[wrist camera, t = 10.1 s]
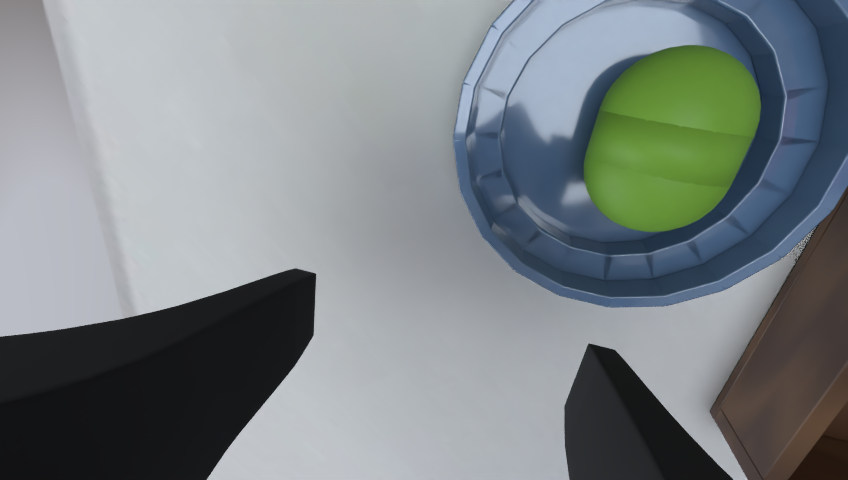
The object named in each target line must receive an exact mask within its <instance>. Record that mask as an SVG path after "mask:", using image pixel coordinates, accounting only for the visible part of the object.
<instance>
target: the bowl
mask: <svg viewBox="0 0 848 480" xmlns="http://www.w3.org/2000/svg"><path fill="white" fill-rule="evenodd" d="M683 45H699V46H707V47H713V48H716V49H718V50H721V51H723V52H726V53H728V54H730V55H732V56H733V57H734V58H736V59H737V60H738V61H740V62H741V63H743V65H744V66H745V67H746V68H747V70H748V71H749V72H750V73H751V75H752V76H753V78H754V80H755V82H756V85H757V87H758V89H759V95H760V101H761V111H760V121H759V124H758V127H757V130H756V133H755V136H754V138H753V140H752V142H751V144H750V146H749V148H748V151H747V153H746V155H745V157H744V159H743V161H742V163H741V166H740V168H739V170H738V172H737V174H736V176H735V178H734V180H733V183H732V185H731V186H730V188H729V190H728V191H727V193H726V195H725V196H724V198H723V199H722V200H721V201H720V202H719V203H718V204H717V205H716V206H715V208H714V209H713V210H712V211H710V212H709V213H708V214H706V215H705V216H703V217H702V218H701V219H699V220H697V221H695V222H693V223H691V224H689V225H687V226H684V227H681V228H677V229H673V230H670V231H660V232H644V231H638V230H633V229H629V228H626V227H624V226H622V225H619V224H617V223H615V222H613V221H611V220H610V219H609V218H608V217H606V216H605V215H604V214H603V213H601V212H600V211H599V209H598V208H597V207H596V206H595V204H594V203H593V202H592V200H591V198H590V196H589V194H588V192H587V189H586V185H585V181H584V160H585V155H586V151H587V148H588V144H589V141H590V138H591V135H592V131H593V128H594V125H595V122H596V118H597V115H598V112H599V109H600V106H601V104H602V101H603V99H604V97H605V95H606V93H607V92H608V90H609V89H610V87H611V86H612V84H613V83H614V82H615V81H616V79H617V78H618V77H619V76H620V75H621V74H622V73H623V72H624V71H625V70H626V69H628V68H629V67H630V66H632V65H633V64H634V63H635V62H637V61H639V60H641V59H642V58H644V57H646V56H648V55H650V54H652V53H654V52H657V51H660V50H663V49H666V48H670V47H676V46H683ZM453 139H454V140H453V145H454V152H455V160H456V167H457V175H458V182H459V189H460V193H461V195H462V197H463V199H464V201H465V203H466V205H467V208H468V210H469V212H470V214H471V216H472V218H473V220H474V222H475V224H476V226H477V228H478V230H479V233H480V235H482V237H483V238H484V239H485V240H486V241H487V242H488V244H489V245H490V246H491V247H492V248H493V249H494V250H495V251H496V252H497V253H498V254H499V255H500V256H501V257H502V258H503V259H504V260H505V261H506V262H507V263H508V265H509V266H510V267H511V268H512V269H513V270H515V271H516V272H517V273H519V274H521V275H523V276H525V277H526V278H528V279H530V280H532V281H533V282H535V283H537V284H539V285H541V286H542V287H544V288H546V289H548V290H549V291H551V292H553V293H555V294H557V295H559V296H563V297H567V298H571V299H576V300H580V301H584V302H588V303H592V304H596V305H601V306H605V307H656V306H668V305H672V304H676V303H679V302H683V301H687V300H691V299H694V298H698V297H702V296H705V295H709V294H713V293H716V292H720V291H723V290H726V289H728V288H730V287H731V286H733V285H735V284H737V283H739V282H740V281H742V280H744V279H746V278H748V277H749V276H751V275H753V274H755V273H757V272H759V271H760V270H762V269H764V268H766V267H768V266H769V265H771V264H773V263H775V262H777V261H778V260H780V259H781V258H783V257H784V256H785V255H786V254H787V253H788V252H789V251H791V250H792V249H793V248H794V247H795V246H796V245H797V244H798V243H799V242H800V241H801V240H802V239H803V238H804V237H805V236H806V235H807V234H808V233H810V232H811V231H812V230H813V229H814V228H815V227H816V226H817V225H818V224H819V223H820V222H821V221H822V220H823V219H824V218H825V217H826V216H828V215H829V214H830V213H831V210H833V209H834V208H835V206H836V204H837V203H838V201H839V199H840V198H841V196H842V194H843V193H844V191H845V189H846V188H847V186H848V0H513V1H512V2H511V3H510V4H509V6H508V7H507V8H506V9H505V10H504V11H503V12H502V13H501V14H500V15H499V17H498V18H497V19H496V20H495V21H494V22H493V23H492V25H491V26H490V28H489V30H488V32H487V34H486V36H485V38H484V40H483V42H482V44H481V46H480V48H479V50H478V52H477V54H476V56H475V58H474V60H473V62H472V64H471V66H470V68H469V70H468V72H467V74H466V76H465V79H464V81H463V84H462V89H461V94H460V100H459V106H458V112H457V118H456V123H455V129H454V135H453Z"/></svg>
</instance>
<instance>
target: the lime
mask: <svg viewBox="0 0 848 480" xmlns="http://www.w3.org/2000/svg"><path fill="white" fill-rule="evenodd" d="M760 111H761V101H760V95H759V89H758V87H757V85H756V82H755V80H754V78H753V76H752V75H751V73H750V72H749V71H748V70H747V68H746V67H745V66H744V65H743V63H741V62H740V61H738V60H737V59H736V58H734V57H733V56H732V55H730V54H728V53H726V52H723V51H721V50H718V49H716V48H713V47H707V46H699V45H683V46H676V47H670V48H666V49H663V50H660V51H657V52H654V53H652V54H650V55H648V56H646V57H644V58H642V59H641V60H639V61H637V62H635V63H634V64H633V65H632V66H630V67H629V68H628V69H626V70H625V71H624V72H623V73H622V74H621V75H620V76H619V77H618V78H617V79H616V81H615V82H614V83H613V84H612V86H611V87H610V89H609V90H608V92H607V93H606V95H605V97H604V99H603V101H602V104H601V106H600V109H599V112H598V115H597V118H596V122H595V125H594V128H593V131H592V135H591V138H590V141H589V144H588V148H587V151H586V155H585V160H584V181H585V185H586V189H587V192H588V194H589V196H590V198H591V200H592V202H593V203H594V204H595V206H596V207H597V208H598V209H599V211H600V212H601V213H603V214H604V215H605V216H606V217H608V218H609V219H610V220H611V221H613V222H615V223H617V224H619V225H622V226H624V227H626V228H629V229H633V230H638V231H644V232H660V231H670V230H673V229H677V228H681V227H684V226H687V225H689V224H691V223H693V222H695V221H697V220H699V219H701V218H702V217H703V216H705V215H706V214H708V213H709V212H710V211H712V210H713V209H714V208H715V206H716V205H717V204H718V203H719V202H720V201H721V200H722V199H723V198H724V196H725V195H726V193H727V191H728V190H729V188H730V186H731V185H732V183H733V180H734V178H735V176H736V174H737V172H738V170H739V168H740V166H741V163H742V161H743V159H744V157H745V155H746V153H747V151H748V148H749V146H750V144H751V142H752V140H753V138H754V136H755V133H756V130H757V127H758V124H759V121H760Z"/></svg>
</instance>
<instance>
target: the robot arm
mask: <svg viewBox="0 0 848 480" xmlns="http://www.w3.org/2000/svg"><path fill="white" fill-rule="evenodd" d="M315 287H316V274H315V273H311V272H307V271H303V270H300V269H292V270H288V271H284V272H281V273H278V274H275V275H272V276H269V277H266V278H263V279H260V280H257V281H254V282H251V283H248V284H245V285H242V286H239V287H236V288H233V289H231V290H228V291H225V292H222V293H218V294H215V295H212V296H208V297H205V298H202V299H199V300H195V301H192V302H189V303H185V304H182V305H179V306H175V307H171V308H167V309H164V310H160V311H156V312H151V313H147V314H142V315H138V316H134V317H129V318H124V319H120V320H115V321H108V322H103V323H97V324H91V325H85V326H79V327H74V328H68V329H61V330H54V331H47V332H39V333H31V334H22V335H13V336H3V337H0V480H207V478H208V477H209V475H210V474H211V472H212V471H213V469H214V468H215V466H216V465H217V463H218V462H219V460H220V459H221V457H222V456H223V454H224V453H225V452H226V450H227V449H228V447H229V446H230V445H231V444H232V442H233V441H234V440H235V438H236V437H237V436H238V434H239V433H240V432H241V431H242V429H243V428H244V427H245V426H246V425H247V423H248V422H249V421H250V420H251V419H252V417H253V416H254V415H255V414H256V412H257V411H258V410H259V409H260V408H261V406H262V405H263V404H264V403H265V402H266V400H267V399H268V398H269V397H270V396H271V394H272V393H273V392H274V391H275V390H276V388H277V387H278V386H279V385H280V383H281V382H282V381H283V380H284V378H285V377H286V376H287V375H288V374H289V372H290V371H291V370H292V368H293V367H294V366H295V364H296V363H297V361H298V360H299V358H300V357H301V355H302V354H303V352H304V350H305V349H306V347H307V345H308V344H309V342H310V340H311V339H312V337H313V335H314V311H315ZM565 449H566V457H567V464H568V471H569V479H570V480H733V479H732V478H731V477H730V476H729V475H728V474H727V473H726V472H725V471H724V470H723V469H722V468H721V467H720V466H719V465H718V464H717V463H716V462H715V461H714V460H713V459H712V458H711V457H710V456H709V455H708V454H707V453H706V452H705V451H704V450H703V449H702V448H701V447H700V445H699V444H698V443H697V442H696V441H695V440H694V439H693V438H692V437H691V436H690V435H689V434H688V433H687V432H686V431H685V430H684V428H683V427H682V426H681V425H680V424H679V423H678V422H677V421H676V420H675V419H674V417H673V416H672V415H671V414H670V413H669V412H668V411H667V410H666V408H665V407H664V406H663V405H662V404H661V403H660V402H659V400H658V399H657V398H656V397H655V396H654V395H653V393H652V392H651V391H650V390H649V389H648V388H647V386H646V385H645V384H644V383H643V382H642V380H641V379H640V378H639V377H638V376H637V375H636V373H635V372H634V371H633V370H632V369H631V368H630V366H629V365H628V364H627V363H626V362H625V361H624V359H623V358H622V357H621V356H620V355H619V354H618V353H617V352H616V351H615V350H613V349H609V348H605V347H601V346H597V345H593V344H588V346H587V349H586V352H585V354H584V357H583V359H582V362H581V365H580V367H579V370H578V372H577V375H576V378H575V380H574V383H573V385H572V388H571V391H570V393H569V396H568V398H567V401H566V404H565Z"/></svg>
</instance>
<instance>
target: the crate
mask: <svg viewBox="0 0 848 480" xmlns="http://www.w3.org/2000/svg"><path fill="white" fill-rule="evenodd" d="M710 413H711V415H712V417H713V418H714V419H715V422H716V423H717V425H718V427H719V429H720V431H721V432H722V434H723V436H724V438H725V440H726V441H727V443H728V445H729V447H730V449H731V450H732V452H733V454H734V456H735V458H736V459H737V461H738V463H739V465H740V466H741V468H742V470H743V472H744V474H745V475H746V477H747V479H748V480H848V186H847V188H846V189H845V191H844V193H843V194H842V196H841V198H840V199H839V201H838V203H837V204H836V206H835V208H834V209H833V210H831V213H830V214H829V215H828V216H826V217H825V218H824V219H823V220H822V221H821V222H820V224H819V226H818V227H817V229H816V231H815V232H814V234H813V236H812V238H811V239H810V241H809V243H808V244H807V246H806V248H805V250H804V251H803V253H802V255H801V256H800V258H799V260H798V261H797V263H796V265H795V267H794V268H793V270H792V272H791V273H790V275H789V277H788V279H787V280H786V282H785V284H784V285H783V287H782V289H781V291H780V292H779V294H778V296H777V297H776V299H775V301H774V303H773V304H772V306H771V308H770V309H769V311H768V313H767V315H766V316H765V318H764V320H763V321H762V323H761V325H760V327H759V328H758V330H757V332H756V333H755V335H754V337H753V339H752V340H751V342H750V344H749V345H748V347H747V349H746V350H745V352H744V354H743V356H742V357H741V359H740V361H739V362H738V364H737V366H736V368H735V369H734V371H733V373H732V374H731V376H730V378H729V380H728V381H727V383H726V385H725V386H724V388H723V390H722V392H721V393H720V395H719V397H718V398H717V400H716V402H715V404H714V405H713V407H712V409H711V410H710Z"/></svg>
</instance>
